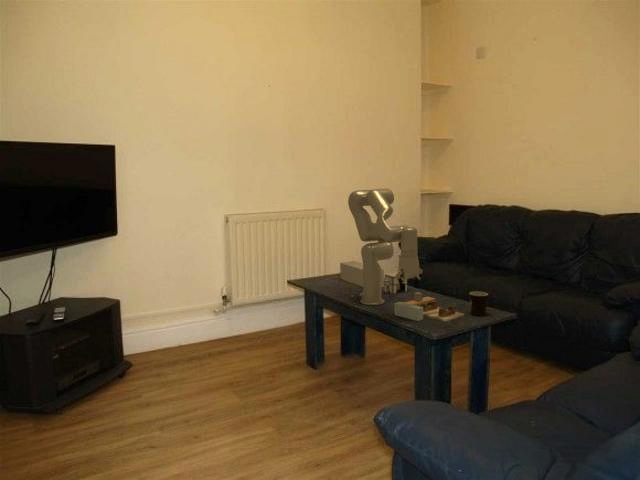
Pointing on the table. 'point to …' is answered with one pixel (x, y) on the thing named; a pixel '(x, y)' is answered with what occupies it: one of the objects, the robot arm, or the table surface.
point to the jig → (440, 312)
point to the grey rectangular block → (355, 273)
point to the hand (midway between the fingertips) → (409, 289)
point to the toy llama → (393, 283)
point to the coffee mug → (478, 303)
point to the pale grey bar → (408, 311)
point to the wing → (420, 299)
